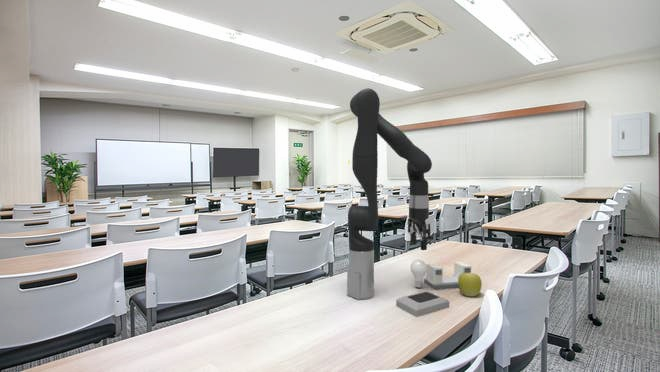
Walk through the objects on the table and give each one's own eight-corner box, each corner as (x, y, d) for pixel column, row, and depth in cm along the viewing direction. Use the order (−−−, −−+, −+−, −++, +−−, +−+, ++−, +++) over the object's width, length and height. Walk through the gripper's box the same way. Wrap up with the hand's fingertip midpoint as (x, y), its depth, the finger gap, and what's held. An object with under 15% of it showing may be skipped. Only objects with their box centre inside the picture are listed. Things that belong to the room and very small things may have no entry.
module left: (434, 284, 125) (434, 268, 124) (426, 278, 131) (426, 263, 131) (442, 283, 125) (443, 268, 125) (434, 277, 132) (434, 263, 132)
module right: (463, 281, 127) (463, 266, 127) (454, 276, 134) (454, 262, 133) (471, 281, 128) (471, 266, 127) (461, 275, 134) (461, 261, 134)
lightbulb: (414, 283, 131) (414, 257, 130) (429, 287, 127) (429, 259, 126) (407, 288, 126) (407, 260, 126) (422, 291, 122) (423, 263, 121)
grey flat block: (396, 296, 109) (428, 288, 117) (396, 307, 110) (428, 298, 117) (416, 307, 101) (449, 297, 108) (416, 318, 101) (449, 308, 109)
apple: (483, 298, 113) (474, 270, 114) (460, 300, 117) (452, 273, 119) (486, 291, 120) (478, 264, 121) (464, 293, 124) (456, 267, 125)
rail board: (434, 289, 124) (434, 284, 124) (424, 282, 132) (424, 277, 132) (473, 286, 127) (473, 281, 127) (461, 279, 135) (461, 274, 135)
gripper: (437, 208, 119) (436, 251, 120) (419, 203, 133) (418, 242, 134) (418, 209, 117) (418, 252, 118) (402, 204, 131) (401, 243, 132)
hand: (418, 247), depth 126 cm, fingers open, 8 cm apart
